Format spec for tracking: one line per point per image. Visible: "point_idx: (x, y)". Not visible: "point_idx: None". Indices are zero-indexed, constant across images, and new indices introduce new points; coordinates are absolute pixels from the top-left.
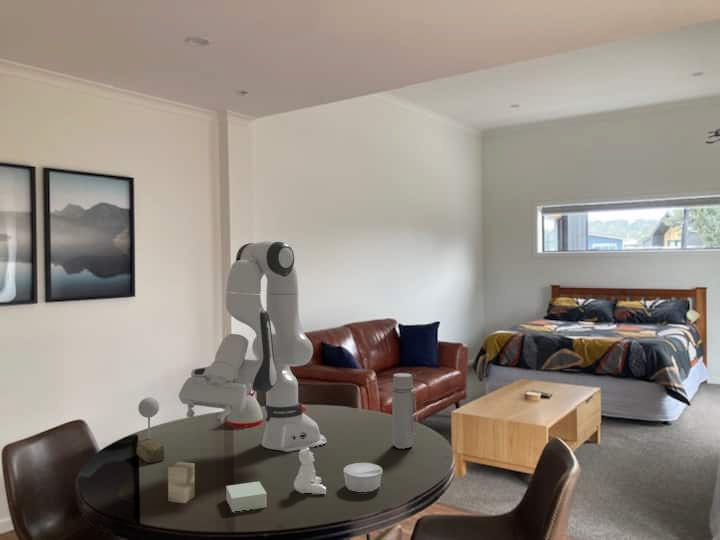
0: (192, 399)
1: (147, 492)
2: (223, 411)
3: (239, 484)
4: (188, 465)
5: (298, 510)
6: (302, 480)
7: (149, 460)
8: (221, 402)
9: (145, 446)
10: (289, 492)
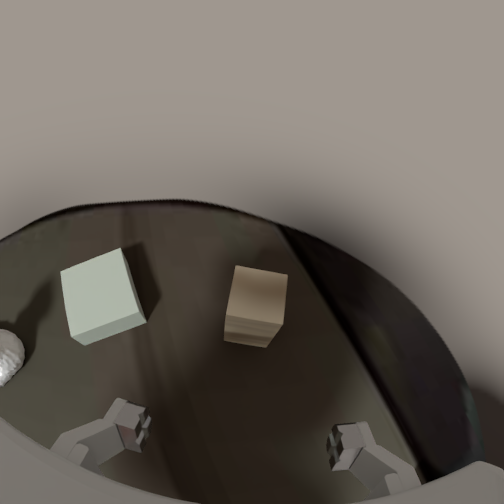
0: (399, 491)
1: (337, 348)
2: (100, 431)
3: (110, 320)
4: (238, 297)
5: (32, 271)
6: (3, 331)
7: None
8: (101, 477)
9: None
10: (35, 350)
